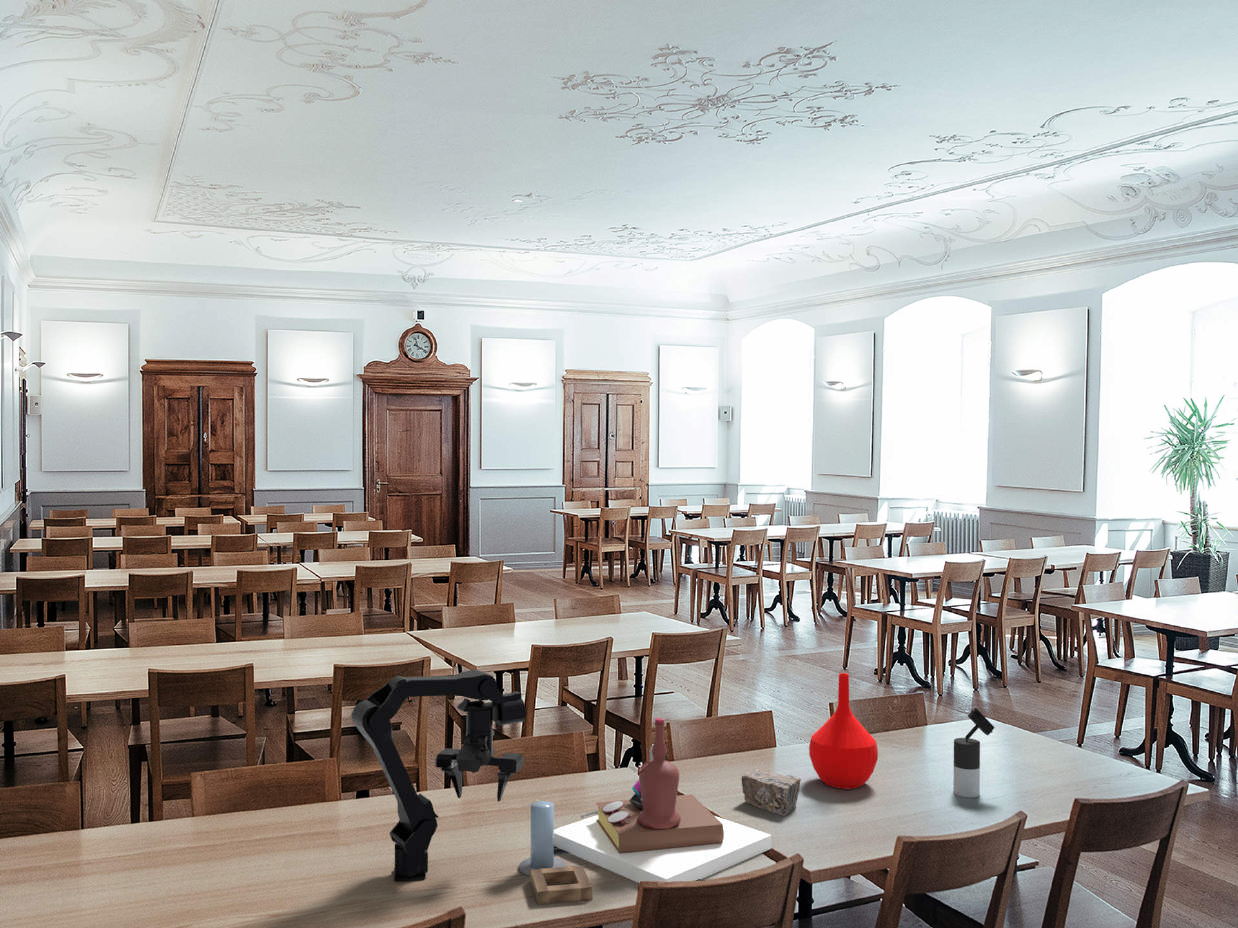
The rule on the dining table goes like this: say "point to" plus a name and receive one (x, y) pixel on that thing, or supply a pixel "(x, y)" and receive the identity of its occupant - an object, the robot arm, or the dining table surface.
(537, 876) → the pocket block
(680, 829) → the decorative still life
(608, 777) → the dining table surface
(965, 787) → the track light
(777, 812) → the stone block
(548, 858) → the pale blue cylinder
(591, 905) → the dining table surface
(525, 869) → the coaster
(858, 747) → the vase
